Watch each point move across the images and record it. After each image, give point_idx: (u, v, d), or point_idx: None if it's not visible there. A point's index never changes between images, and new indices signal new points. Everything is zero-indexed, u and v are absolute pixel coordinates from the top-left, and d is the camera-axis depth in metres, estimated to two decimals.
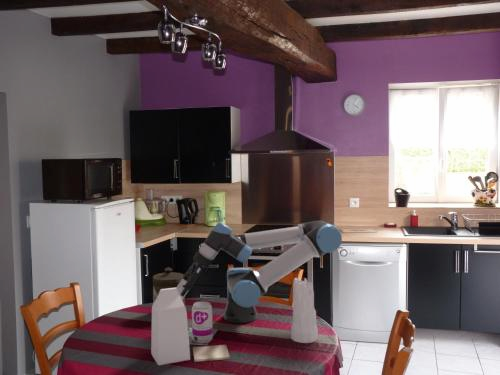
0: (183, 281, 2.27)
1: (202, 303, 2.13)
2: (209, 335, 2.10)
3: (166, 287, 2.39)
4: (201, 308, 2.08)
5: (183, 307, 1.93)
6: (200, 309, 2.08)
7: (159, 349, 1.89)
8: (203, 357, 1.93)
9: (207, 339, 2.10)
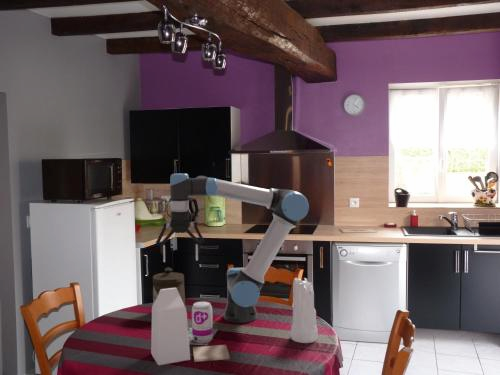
0: None
1: (202, 303, 2.13)
2: (209, 335, 2.10)
3: (166, 287, 2.39)
4: (201, 308, 2.08)
5: (183, 307, 1.93)
6: (200, 309, 2.08)
7: (159, 349, 1.89)
8: (203, 357, 1.93)
9: (207, 339, 2.10)
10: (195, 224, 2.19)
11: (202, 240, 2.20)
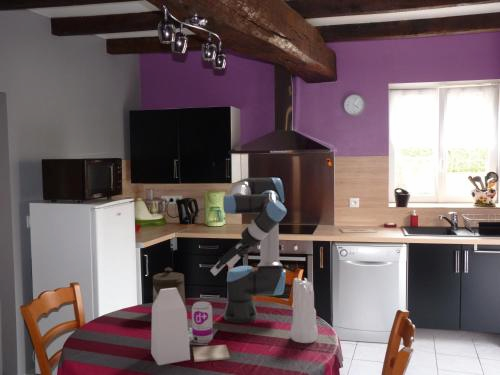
0: (236, 255, 2.12)
1: (202, 303, 2.13)
2: (209, 335, 2.10)
3: (166, 287, 2.39)
4: (201, 308, 2.08)
5: (183, 307, 1.93)
6: (200, 309, 2.08)
7: (159, 349, 1.89)
8: (203, 357, 1.93)
9: (207, 339, 2.10)
10: None
11: (246, 252, 2.13)
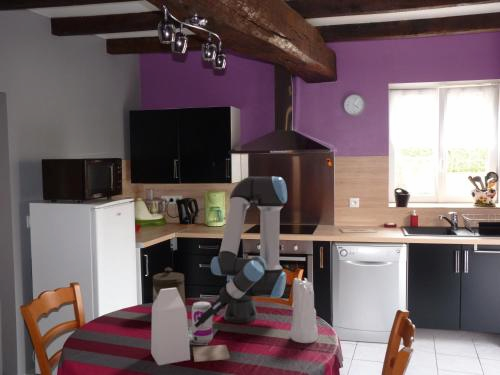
0: None
1: (202, 303, 2.13)
2: (209, 335, 2.10)
3: (166, 287, 2.39)
4: (201, 308, 2.08)
5: (183, 307, 1.93)
6: (200, 309, 2.08)
7: (159, 349, 1.89)
8: (203, 357, 1.93)
9: (207, 339, 2.10)
10: None
11: (219, 310, 2.17)
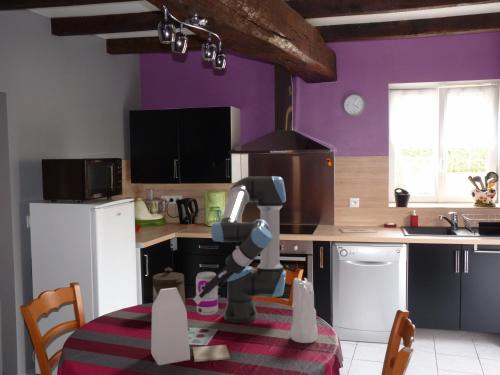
0: None
1: (207, 273, 2.01)
2: (214, 306, 1.98)
3: (166, 287, 2.39)
4: (206, 277, 1.97)
5: (183, 307, 1.93)
6: (205, 278, 1.96)
7: (159, 349, 1.89)
8: (203, 357, 1.93)
9: (212, 311, 1.98)
10: None
11: (225, 281, 2.05)
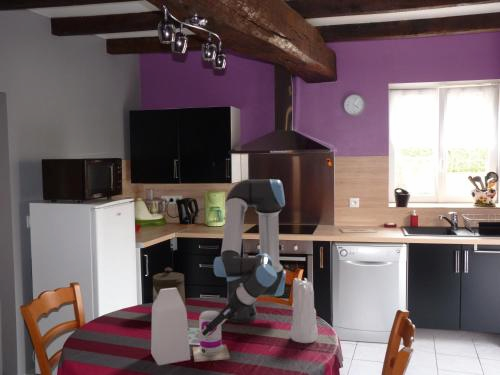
0: None
1: (210, 312, 1.98)
2: (218, 347, 1.96)
3: (166, 287, 2.39)
4: (209, 318, 1.94)
5: (183, 307, 1.93)
6: (208, 319, 1.93)
7: (159, 349, 1.89)
8: (203, 357, 1.93)
9: (216, 351, 1.95)
10: None
11: None
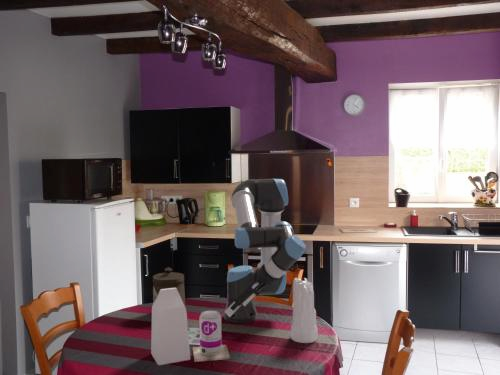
0: None
1: (210, 312, 1.99)
2: (218, 347, 1.96)
3: (166, 287, 2.39)
4: (209, 318, 1.94)
5: (183, 307, 1.93)
6: (209, 318, 1.94)
7: (159, 349, 1.89)
8: (203, 357, 1.93)
9: (216, 351, 1.95)
10: None
11: (261, 289, 1.99)
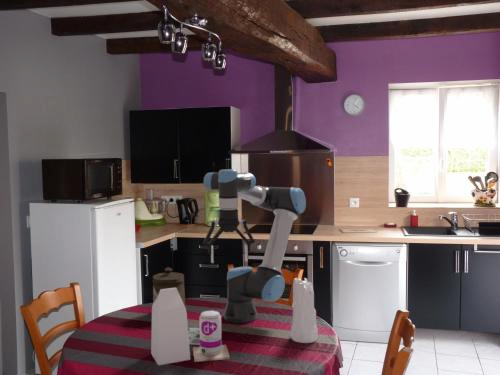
0: None
1: (210, 312, 1.99)
2: (218, 347, 1.96)
3: (166, 287, 2.39)
4: (209, 318, 1.94)
5: (183, 307, 1.93)
6: (208, 319, 1.94)
7: (159, 349, 1.89)
8: (203, 357, 1.93)
9: (216, 351, 1.95)
10: (245, 223, 2.07)
11: (252, 239, 2.08)
